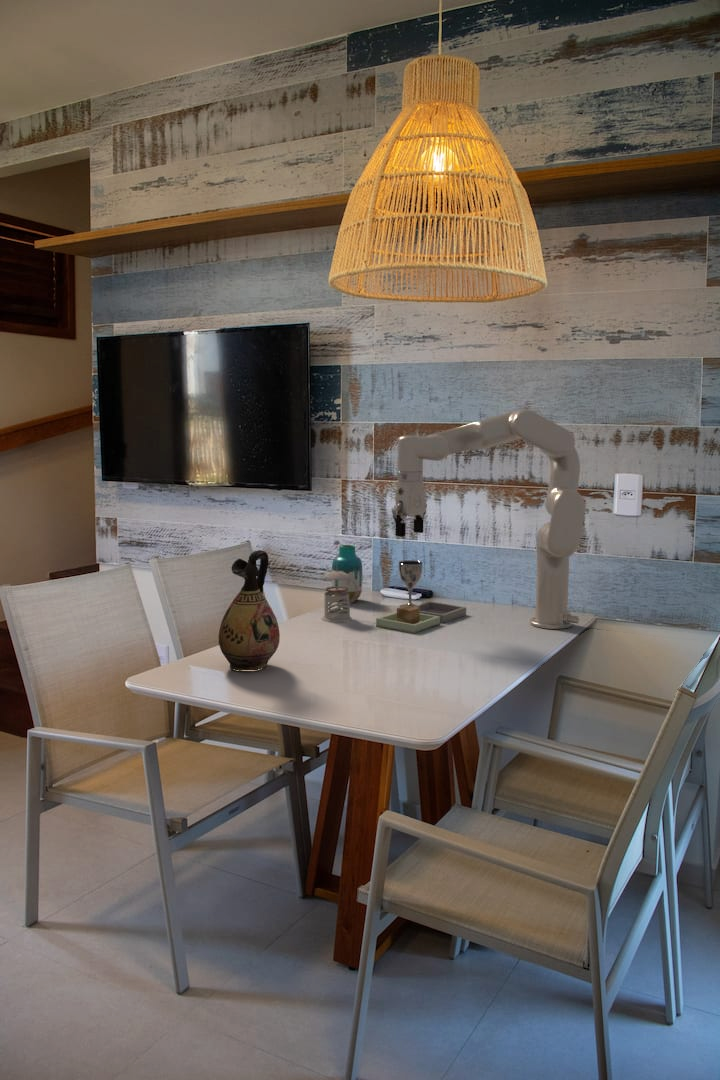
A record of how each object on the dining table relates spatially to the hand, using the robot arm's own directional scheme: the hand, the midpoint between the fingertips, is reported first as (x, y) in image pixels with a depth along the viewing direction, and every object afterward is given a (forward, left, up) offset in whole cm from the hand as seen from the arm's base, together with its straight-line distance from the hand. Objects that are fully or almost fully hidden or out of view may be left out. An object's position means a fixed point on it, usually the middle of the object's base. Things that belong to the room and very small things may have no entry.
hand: (409, 534), depth 261 cm
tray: (0, 0, -28) cm, 28 cm away
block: (0, 0, -28) cm, 28 cm away
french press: (+22, +6, -28) cm, 36 cm away
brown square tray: (0, -16, -28) cm, 32 cm away
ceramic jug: (+8, +60, -28) cm, 67 cm away
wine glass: (+14, -22, -28) cm, 39 cm away
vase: (+36, -16, -28) cm, 49 cm away
